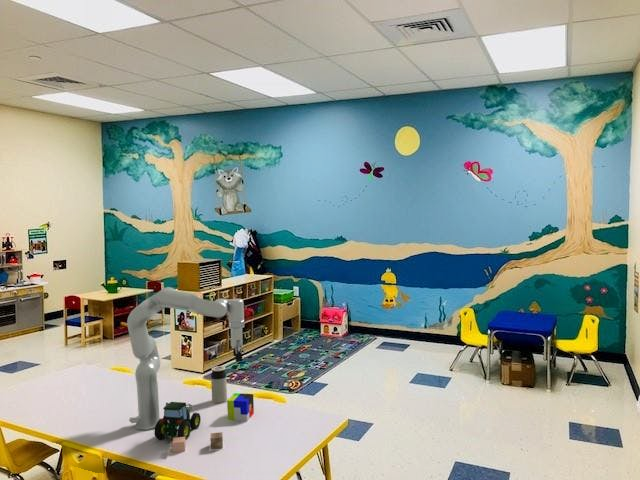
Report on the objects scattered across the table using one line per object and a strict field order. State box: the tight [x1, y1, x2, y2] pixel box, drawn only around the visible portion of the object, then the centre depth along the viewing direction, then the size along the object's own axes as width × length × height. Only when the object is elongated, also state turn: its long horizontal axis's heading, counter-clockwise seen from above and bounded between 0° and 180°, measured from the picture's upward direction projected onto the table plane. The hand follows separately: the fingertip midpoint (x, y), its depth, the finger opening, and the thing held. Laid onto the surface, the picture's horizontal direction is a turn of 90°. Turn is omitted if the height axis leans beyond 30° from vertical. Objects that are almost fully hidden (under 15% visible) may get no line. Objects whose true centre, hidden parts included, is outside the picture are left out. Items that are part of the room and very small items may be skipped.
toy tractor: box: [154, 401, 201, 440], centre depth 243 cm, size 14×22×15 cm, turn 167°
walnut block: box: [209, 431, 224, 451], centre depth 229 cm, size 5×5×5 cm
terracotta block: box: [171, 436, 187, 453], centre depth 227 cm, size 5×5×5 cm
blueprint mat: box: [208, 441, 226, 452], centre depth 229 cm, size 14×12×1 cm
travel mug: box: [210, 365, 228, 404], centre depth 283 cm, size 8×8×18 cm
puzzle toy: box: [226, 392, 255, 422], centre depth 262 cm, size 10×10×10 cm
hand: (237, 358), depth 258 cm, fingers open, 9 cm apart
